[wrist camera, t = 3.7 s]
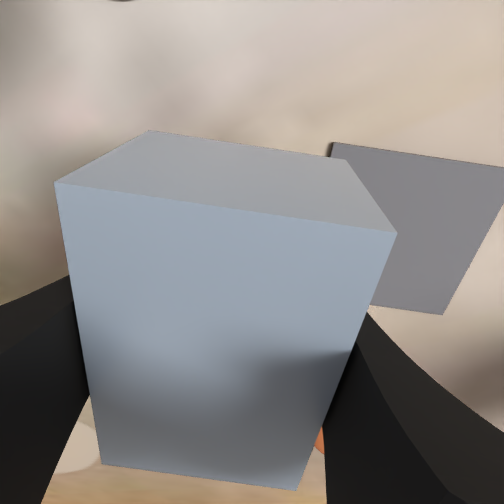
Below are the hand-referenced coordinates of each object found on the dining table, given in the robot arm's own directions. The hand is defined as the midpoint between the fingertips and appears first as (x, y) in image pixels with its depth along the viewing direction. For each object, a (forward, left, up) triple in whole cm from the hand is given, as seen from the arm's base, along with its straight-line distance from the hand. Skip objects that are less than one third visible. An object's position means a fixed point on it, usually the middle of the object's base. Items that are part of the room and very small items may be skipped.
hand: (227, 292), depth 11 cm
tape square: (-7, 0, -6) cm, 10 cm away
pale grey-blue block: (0, 0, -2) cm, 2 cm away
